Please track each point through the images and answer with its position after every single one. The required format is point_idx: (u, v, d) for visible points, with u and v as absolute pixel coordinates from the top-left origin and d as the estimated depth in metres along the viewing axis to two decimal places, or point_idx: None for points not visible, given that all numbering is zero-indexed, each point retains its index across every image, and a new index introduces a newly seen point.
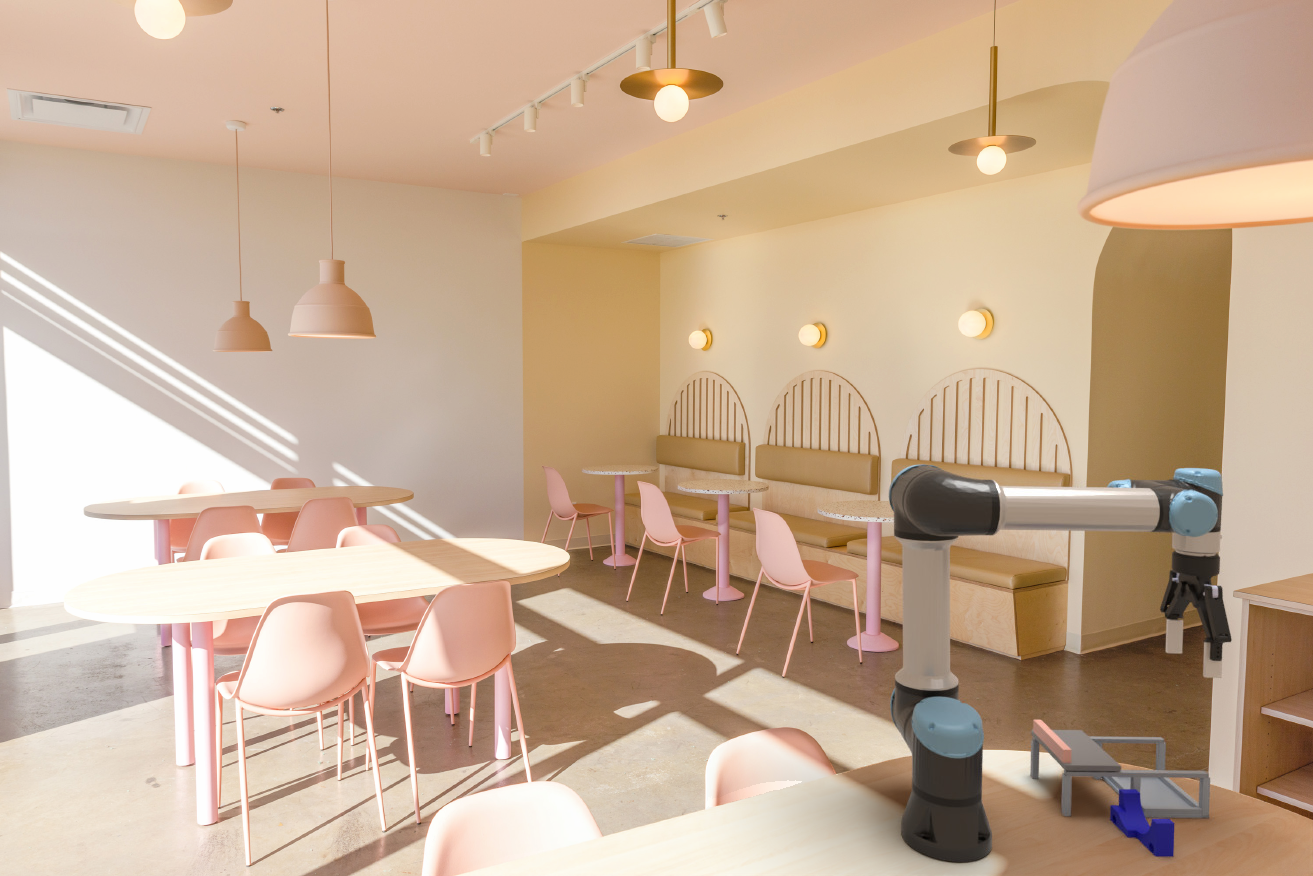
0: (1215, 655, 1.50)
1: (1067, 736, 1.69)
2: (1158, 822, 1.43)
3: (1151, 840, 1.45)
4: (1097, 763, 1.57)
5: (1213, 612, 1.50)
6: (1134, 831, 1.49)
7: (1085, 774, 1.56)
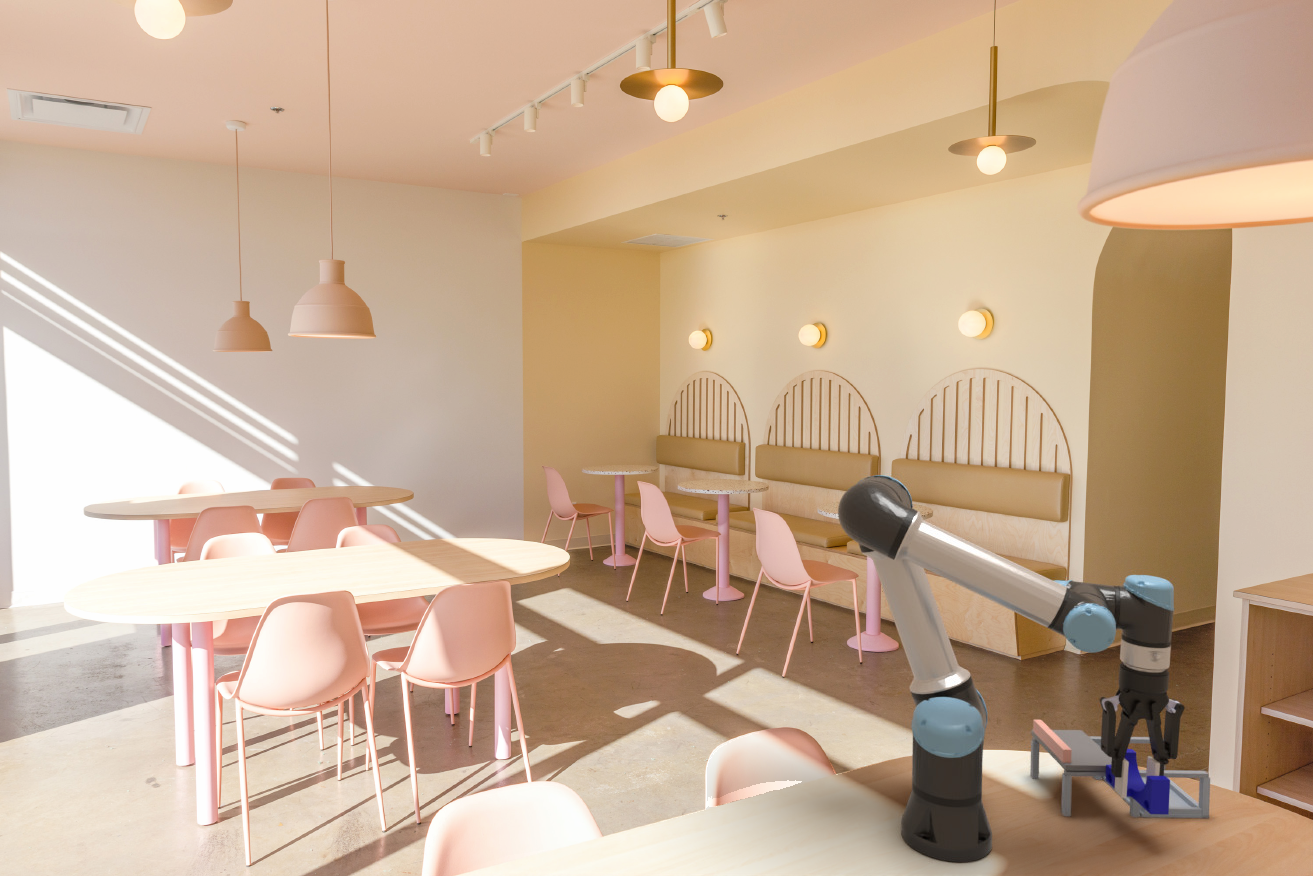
0: (1112, 768, 1.49)
1: (1067, 736, 1.69)
2: (1153, 779, 1.43)
3: (1147, 797, 1.44)
4: (1097, 763, 1.57)
5: (1102, 724, 1.49)
6: (1129, 789, 1.49)
7: (1085, 774, 1.56)
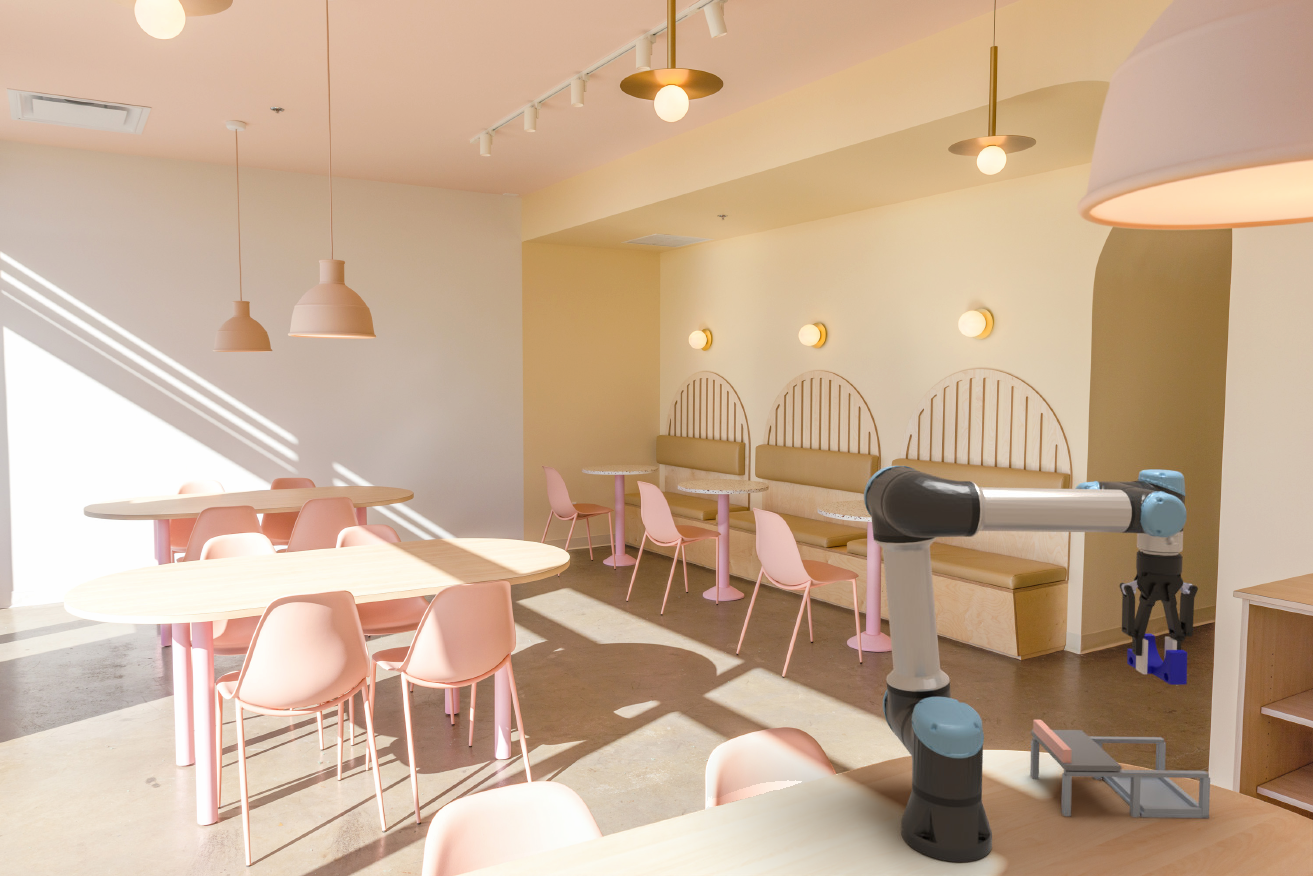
0: (1132, 648, 1.63)
1: (1067, 736, 1.69)
2: (1172, 652, 1.56)
3: (1166, 669, 1.57)
4: (1097, 763, 1.57)
5: (1123, 607, 1.63)
6: (1149, 666, 1.62)
7: (1085, 774, 1.56)
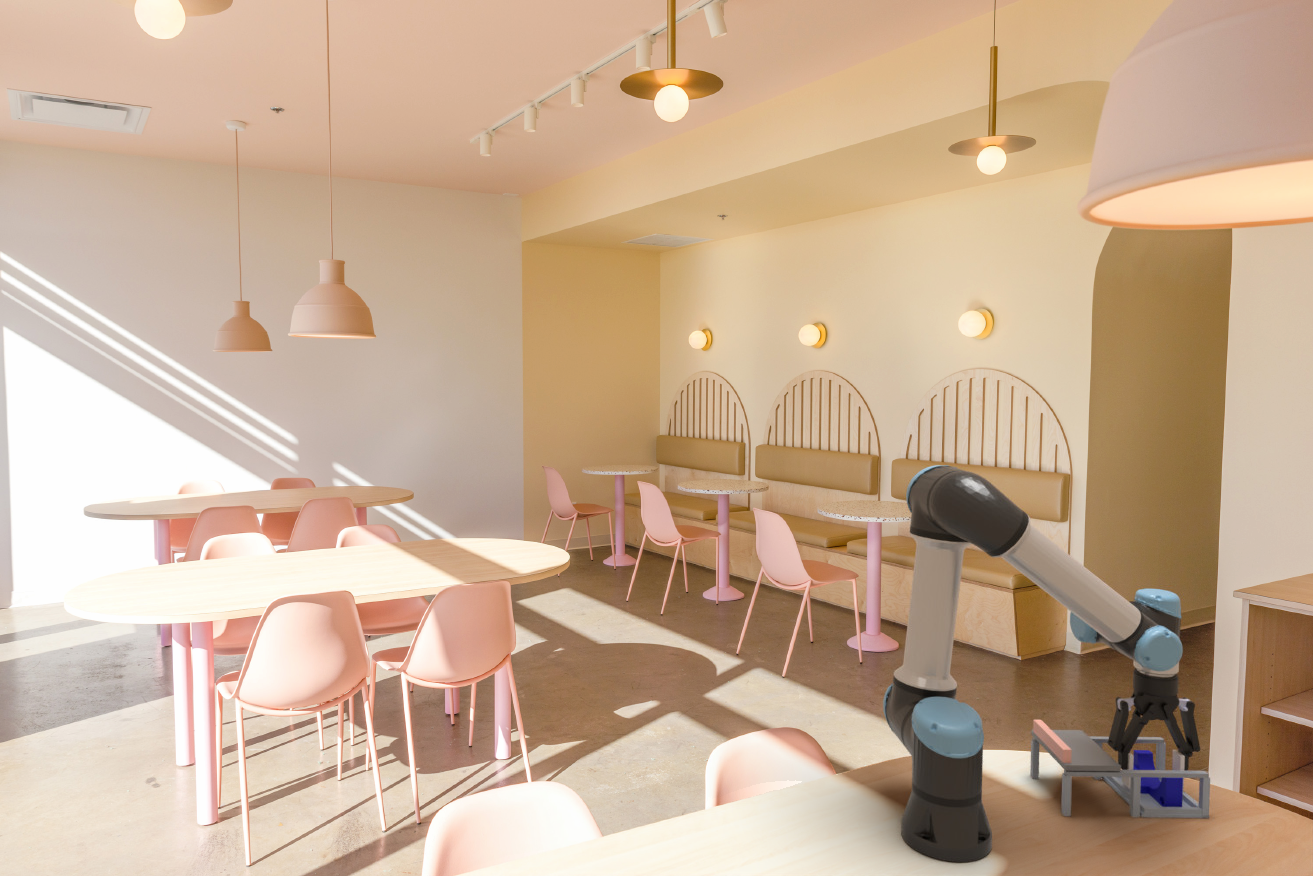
0: (1118, 761, 1.64)
1: (1067, 736, 1.69)
2: None
3: (1162, 793, 1.59)
4: (1097, 763, 1.57)
5: (1114, 721, 1.64)
6: (1146, 786, 1.64)
7: (1085, 774, 1.56)
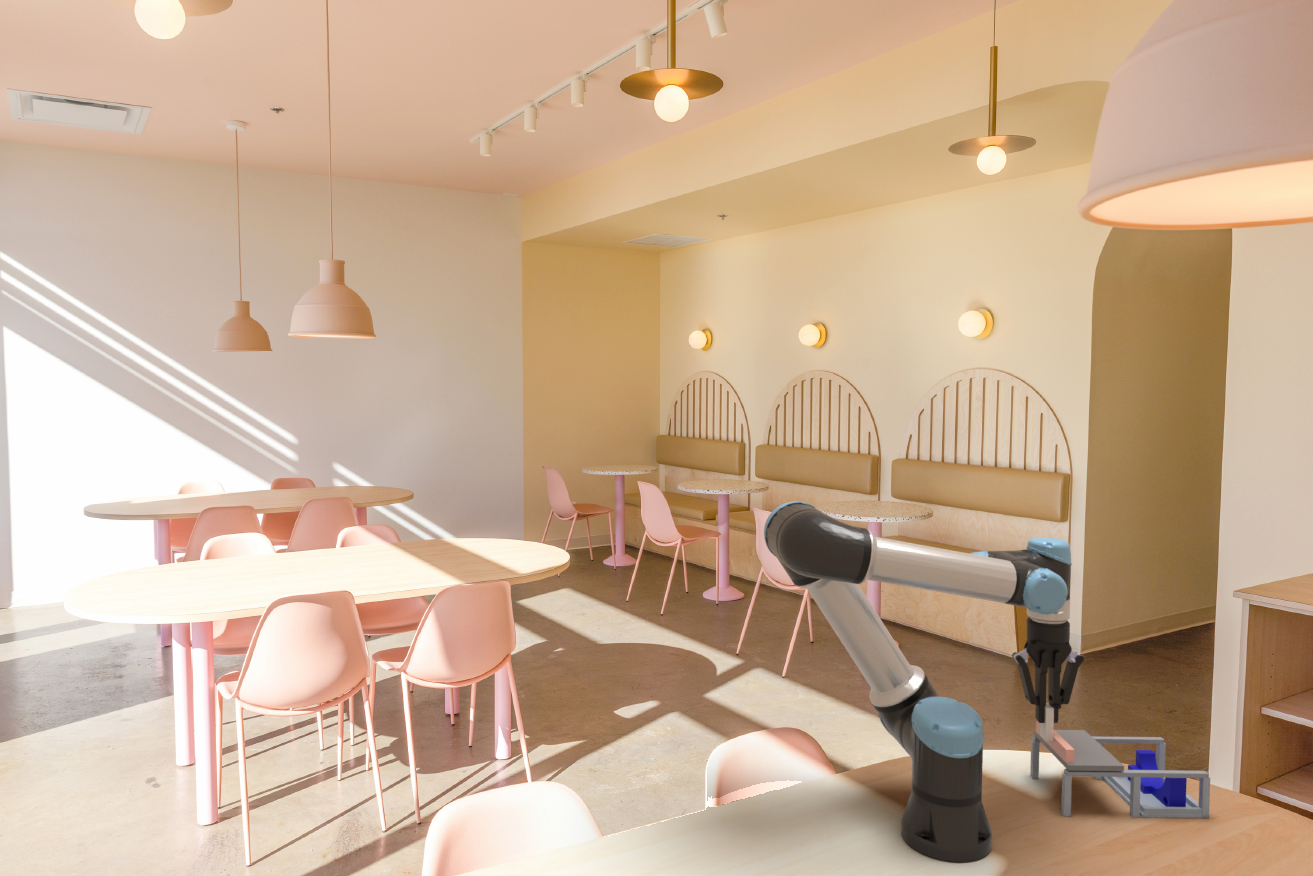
0: (1036, 715, 1.64)
1: (1070, 736, 1.69)
2: None
3: (1165, 794, 1.59)
4: (1100, 763, 1.57)
5: (1020, 676, 1.64)
6: (1149, 786, 1.64)
7: (1085, 774, 1.56)
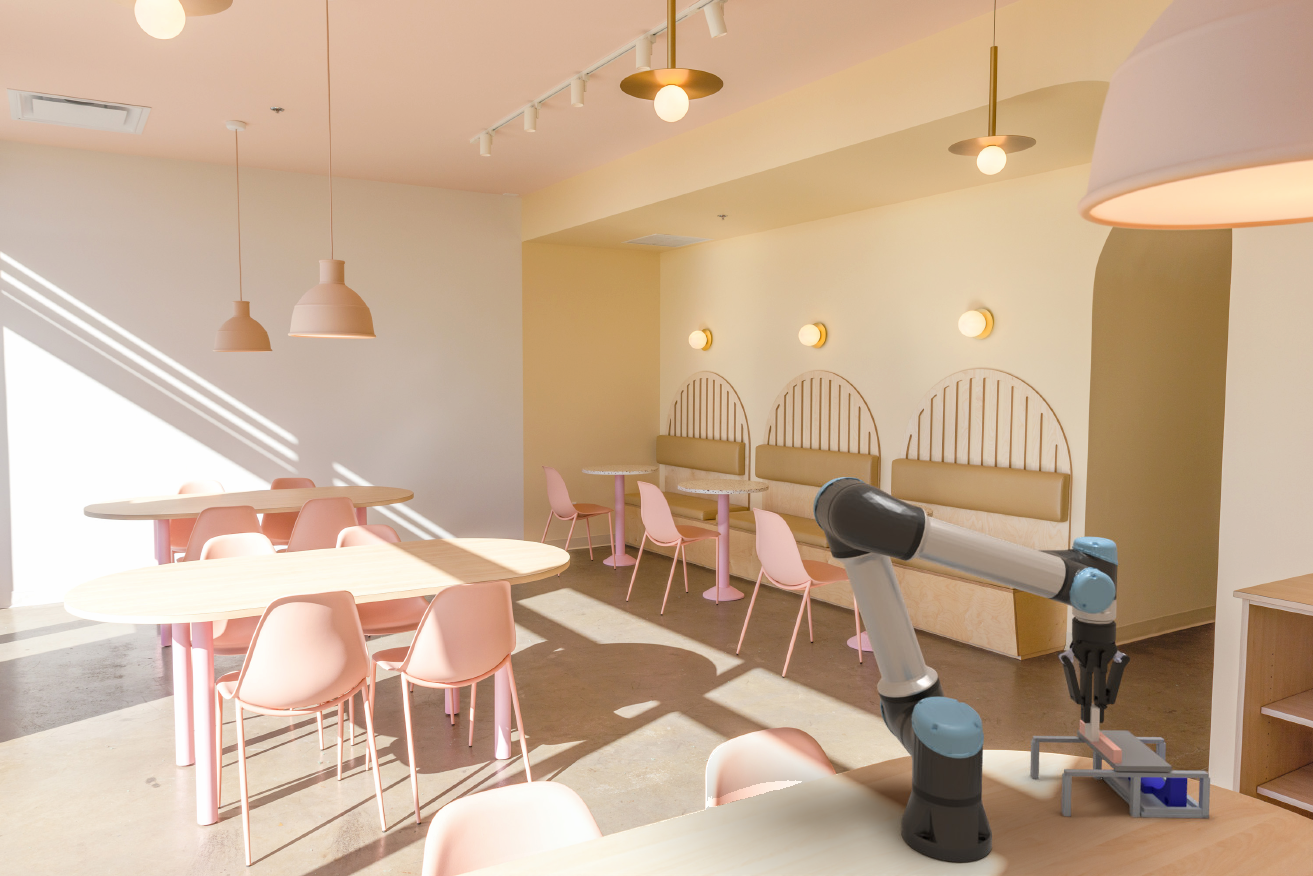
0: (1081, 715, 1.64)
1: (1114, 736, 1.68)
2: None
3: (1166, 794, 1.59)
4: (1148, 764, 1.56)
5: (1066, 676, 1.64)
6: (1150, 786, 1.64)
7: (1085, 774, 1.56)
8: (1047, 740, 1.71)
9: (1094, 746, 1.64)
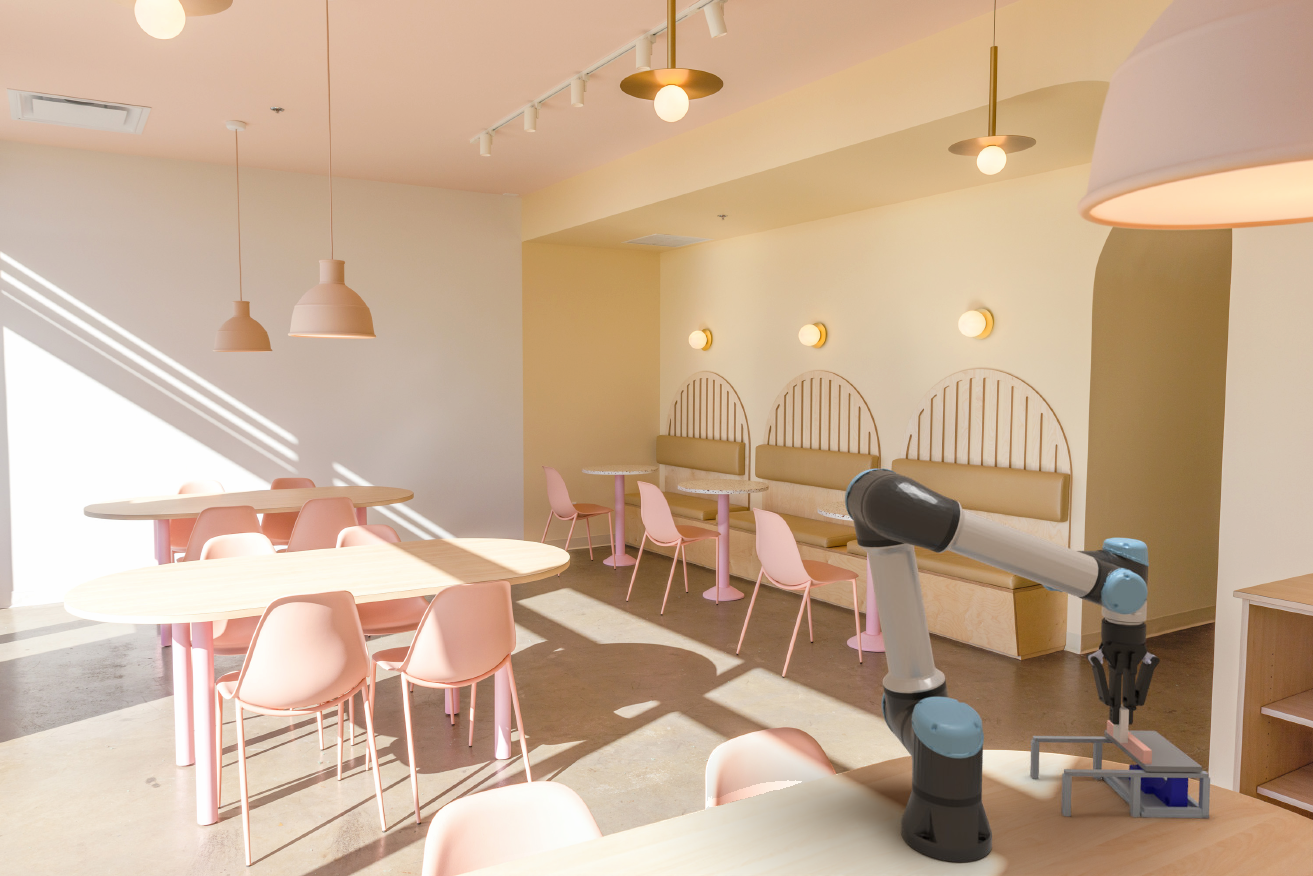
0: (1110, 716, 1.64)
1: (1142, 737, 1.68)
2: None
3: (1167, 794, 1.59)
4: (1178, 764, 1.56)
5: (1095, 677, 1.64)
6: (1151, 786, 1.64)
7: (1085, 774, 1.56)
8: (1047, 740, 1.71)
9: (1123, 746, 1.64)
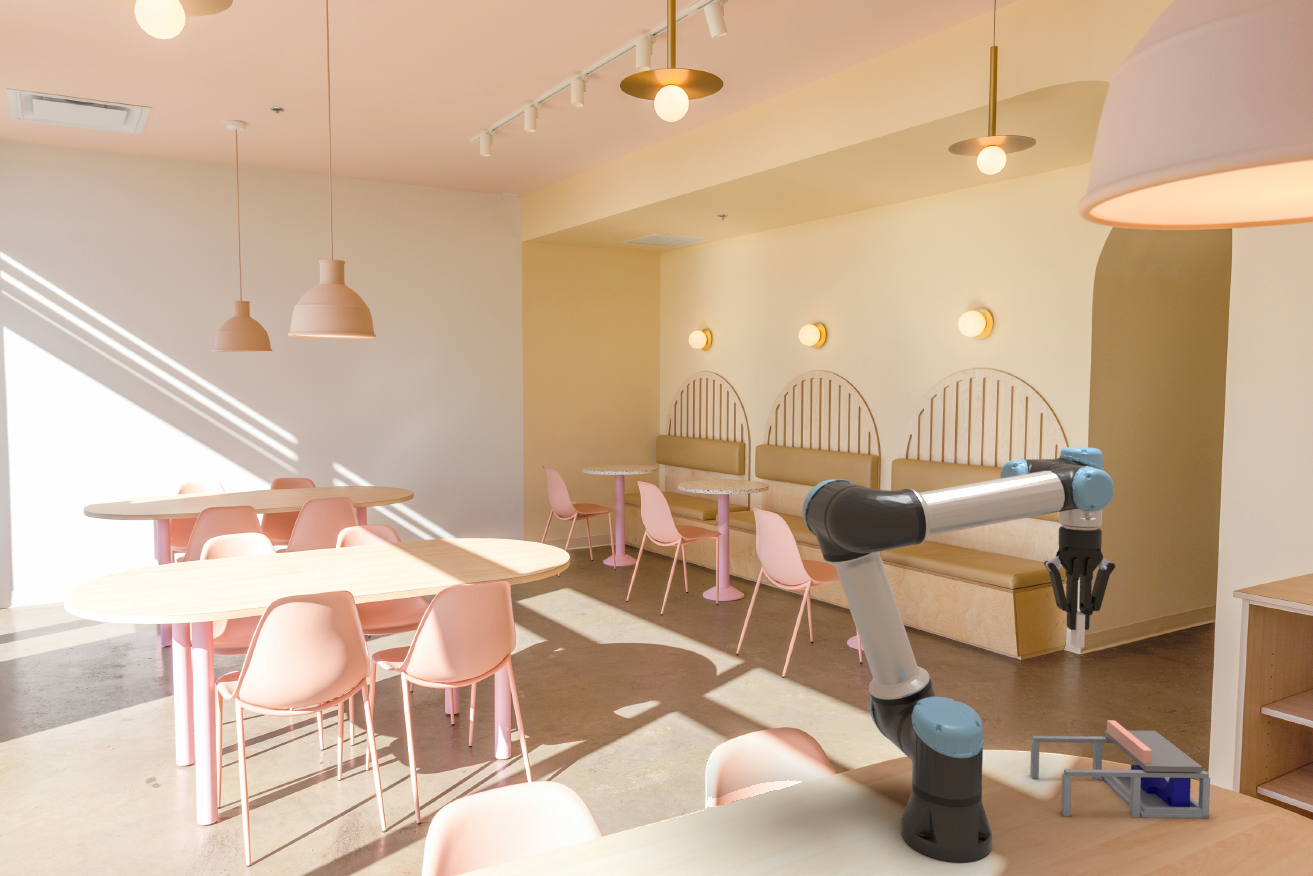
0: (1067, 622, 1.67)
1: (1142, 737, 1.68)
2: None
3: (1169, 794, 1.59)
4: (1178, 764, 1.56)
5: (1052, 584, 1.67)
6: (1153, 787, 1.64)
7: (1085, 774, 1.56)
8: (1047, 740, 1.71)
9: (1123, 746, 1.64)
